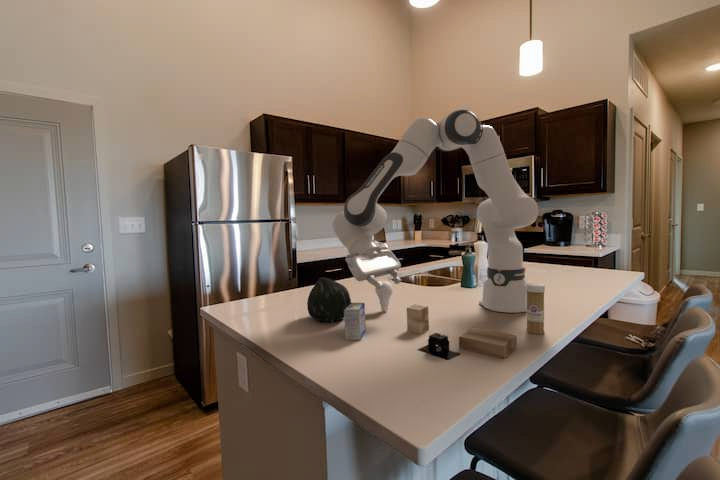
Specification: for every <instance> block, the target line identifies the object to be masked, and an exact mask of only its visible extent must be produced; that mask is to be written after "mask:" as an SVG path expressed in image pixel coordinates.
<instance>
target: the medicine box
mask: <svg viewBox="0 0 720 480" xmlns="http://www.w3.org/2000/svg"><path fill="white" fill-rule="evenodd" d="M365 306H366V303H365V302H351V303H350V304H349V305H348V307H347V308H346V309H345V310H344V318H343V320H344V321H343V322H344V336H345V340H348V341H361V340H362V338H363V336H364V334H365V333H366V330H367V329H366V327H367V326H366V307H365Z"/></svg>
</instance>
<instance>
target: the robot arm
mask: <svg viewBox="0 0 720 480" xmlns="http://www.w3.org/2000/svg"><path fill="white" fill-rule="evenodd" d="M460 148H462V149H463V150H464V151H465V153H466V154H467V155H468V158H469V162H470V165H471V167H472V171H473V174H474V177H475V180H476V183H477V186H478V187H479V188H480V189H481V190H482V191H484V192H485V194H486V195H487V196H488V198H486V199H485V200H482V201H481V202H480V203H479V204H478V206H477V208H476V218H477V220H478V222H479V223H480V224H481V226H482V228H483V232H484V234H485V239H486V243H487V253H488V254H487V257H488V258H487V260H488V263H487V264H488V266H487V269H486V277H487V279H486V280H485V281H484V282H483V288H482V299H481V300H479V302H478V304H479V305H481V306H483V307H484V308H485V309H486V310H487V309H488V310H490V311H493V312H500V313H527V290H526V285H527V284H528V282H527V280H526V279H525V277H526V275H525V274H526V270H527V269H526V267H525V266H524V267H523V265H524V264H523V258H524V256H523V255H524V254H523V253H524V252H523V251H524V249H523V245H522V243H521V241H519V239H518V238H517V235H516V232H515V229H521V228H525V227H529V226H530V225H532V224H534V223H535V222H536V220H537V219H538V216H539V205H538V203H537V202H536V200H535V199H533V198H532V197H531V196H529V195H528V194H527V193H525V191H524V190H523V189H522V188H521V186H520V185H519V183H518V182H517V180H516V179H515V178H514V175H513V174H512V170H511V168H510V165H509V162H508V159H507V156H506V153H505V151H504V147H503V145H502V142H501V140H500V138H499V135H498V134H497V132H496V130H495V129H494V128H493V126H490V125H485V124H483V122H482V121H480V119H479V117H478V116H477V115H476V114H475V113H474V112H472V111H471V110H468V109H458V110H455V111H453V112H451V113H449V114H448V115H446V116H445V117H443V118H442V119H441V120H440V121H439V122H435V121H434V120H433V119H430V118H428V117H420V118H419V117H418V118H417V119H416V120H415V121H413V123H412V124H411V125H410V126H409V127H408V128H407V130H406V131H405V132H404V134H403V135H402V136H401V138H400V139H399V141H398V142H397V144H396V145H395V146H394V148H393V150H392V151H391V152H390V153H388V154H387V155H385V156H384V157H383V158H382V160H381V161H380V162H379V163H378V164H377V166H376V167H375V169H373V171H372V172H371V173H370V175H369V176H368V177H367V178H366V180H365V181H364V183H363V184H362V185H361V186H360V187H359V188H358V189H357V190H356V191H355V192H354V193H352V194H350V196H349V197H348V198H347V199H346V201H345V202H344V207H343V211H340V212H339V213H338V214H337V215H336V216H335V217H334V219H333V221H332V228H333V232H334V233H335V236H336V237H337V238H338V240H339V241H340V243H341V244H342V245H343V246H344V247H345V248H346V249H347V252H348V254H347V255H346V256H345V262H346V263H347V266H348V269H349V271H350V272H351V274H352V276H353V278H354V279H355V280H356V281H358V282H363V281H367V282H368V283H369V284H370V285H372V286H374V287H375V288H376V289H377V290H378V289H381V288H382V287H383V284H382V283H381V281H382V280H378V279H377V278H379V277H384V276H387V275H388V276H389V275H390V276H391V277H393V280H392V281H393V283H394V284H395V285H397V284H400V283H401V282H402V278H400V276H399V270H400V268H401V267H402V264H401V262H400V260H399V259H398V258H397V257H396V255H395V254H394V252H393V251H391V250H390V249H389V246H388V244H387V243H385V242H381V241H377V240H375V239H373V238H372V237H373V236H374V235H377V234H379V232H380V231H383V229H384V228H385V226H386V225H387V224H388V219H389V218H388V214H387V211H386V210H385V209H384V208H383V207H382V206H381V205H380V204H378V200H379V198H380V196H381V195H382V194H383V192H384V191H385V190H386V188H387V187H388V186H389V184H390V183H391V182H392V181H393V180H394V179H395V178H397V177H399V176H401V177H402V176H403V177H411V176H415V175H416V174H417V173H418V172H419V171H420V170H421V169H422V168H423V166H424V165H425V164H426V162H427V160H428V159H429V157H430V155H431V153H432V152H433V151H434V150H438V151H441V152H446V153H447V152H452V151H454V150H458V149H460Z"/></svg>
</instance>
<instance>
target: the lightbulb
mask: <svg viewBox="0 0 720 480" xmlns="http://www.w3.org/2000/svg"><path fill="white" fill-rule="evenodd" d="M380 281H381V283H382V284H383V287H382V288H381V289H378V290H377V289H376V287H375V288H374V291H375V293H376V296H377V297H378V299H379V305H380V310H381V311H383V312H385V313H386V312H387V311H389V304H390V298H391V296H392V293H393V289H394V287H393V286H392V284H391V283H390V282H389V281H387V280H380Z"/></svg>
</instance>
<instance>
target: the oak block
mask: <svg viewBox="0 0 720 480" xmlns="http://www.w3.org/2000/svg"><path fill="white" fill-rule="evenodd" d="M429 317H430V316H429V306H428V305H424V304H423V305H421V304H417V303H416V304H412V305H410V306H408V307H406V323H407V325H406V327H407V328H406V330H407V332H410V333H413V334H414V333H415V334H418V335H422V334H423V333H426V332H428V331H429V330H430V329H429V328H430V325H429V323H430V322H429Z"/></svg>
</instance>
